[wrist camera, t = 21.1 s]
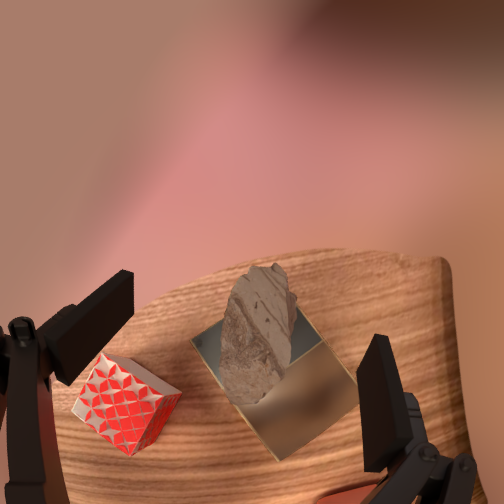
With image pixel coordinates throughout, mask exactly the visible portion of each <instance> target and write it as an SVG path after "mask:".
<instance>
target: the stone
mask: <svg viewBox="0 0 504 504" xmlns="http://www.w3.org/2000/svg"><path fill="white" fill-rule="evenodd" d="M287 280H288V277H287V274H286V273H285V272H284V270H283V269H282V268H281V267H280V266H279V265H278V264H277V263H274V264H273V265H272V266H271V267H258V266H251V267H250V268H249V272H248V274H244V275H242V276H240V278H239V279H238V281H237V282H236V285H235V286H234V287H233V289H232V291H231V294H230V296H229V299H228V304H227V309H226V311H225V314H224V320H223V325H222V332H221V356H220V360H219V373H220V375H221V380H222V384H223V387H224V390H225V393H226V396H227V398H228V399H229V401H230V403H231V404H232V405H233V404H234V405H245V404H257V403H258V402H259V400H260V399H263V398H264V397H265V395H266V393H269V392H270V391H271V389H272V388H273V387H274V385H275V384H276V383H279V382H280V381H281V380H282V379H283V378H284V376H285V374H286V368H287V367H288V365H289V363H290V358H291V338H290V337H291V334H292V332H293V329H294V322H295V320H296V319H297V312H296V300H297V296H296V295H295V294H294V293H291V292H290V291H289V289H288V284H287V283H288V281H287Z"/></svg>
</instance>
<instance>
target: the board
mask: <svg viewBox="0 0 504 504" xmlns="http://www.w3.org/2000/svg"><path fill="white" fill-rule="evenodd" d="M296 312H297V319H296V320H295V322H294V329H293V332H292V334H291V337H290V338H291V358H290V363H289V365H288V367H287V368H286V374H285V376H284V378H283V379H282V380H281V381H280V382H279V383H276V384H275V385H274V387H273V388H272V389H271V391H270V392H269V393H266V395H265V397H264V398H263V399H260V400H259V402H258V403H257V404H245V405H234V404H233V405H234V407H235V408H236V409H237V411H238V412H239V413H240V415H241V416H242V417H243V419H244V420H245V421H246V423H247V424H248V425H249V427H250V428H251V429H252V430H253V432H254V433H255V434H256V436H257V437H258V438H259V439H260V441H261V442H262V443H263V444H264V446H265V447H266V448H267V449H268V451H269V452H270V453H271V454H272V456H273V457H274V458H275V459H276V460H277V462H280V461H281V460H283V459H285V458H286V457H288V456H289V455H291V454H292V453H294V452H295V451H297V450H298V449H300V448H301V447H303V446H304V445H305V444H307V443H308V442H310V441H311V440H312V439H314V438H315V437H317V436H318V435H319V434H321V433H322V432H323V431H325V430H326V429H327V428H329V427H330V426H331V425H333V424H334V423H335V422H337V421H338V420H339V419H340V418H342V417H343V416H344V415H345V414H347V413H348V412H349V411H350V410H352V409H353V408H354V407H355V406H356V405H358V404H359V393H358V384H357V382H356V380H355V379H354V378H353V376H352V375H351V374H350V372H349V371H348V370H347V368H346V367H345V366H344V364H343V363H342V362H341V361H340V359H339V358H338V357H337V355H336V354H335V353H334V351H333V350H332V349H331V347H330V346H329V345H328V344H327V342H326V341H325V340H324V338H323V337H322V336H321V334H320V333H319V332H318V330H317V329H316V328H315V326H314V325H313V324H312V323H311V321H310V320H309V319H308V317H307V316H306V315H305V313H304V312H303V311H302V309H301V308H300V307H299V306H298V304H297V303H296ZM223 320H224V318H223V319H222V320H220V321H219V322H217V323H215V324H214V325H212V326H211V327H209V328H208V329H206V330H205V331H203V332H202V333H200V334H199V335H197V336H195V337H194V338H192V339H191V340H190V343H191V344H192V346H193V347H194V349H195V350H196V352H197V353H198V355H199V356H200V358H201V359H202V361H203V362H204V364H205V365H206V367H207V368H208V370H209V371H210V373H211V374H212V376H213V377H214V379H215V380H216V381H217V383H218V384H219V386H220V387H221V389H222V390H223V391H224V393H225V390H224V387H223V384H222V380H221V375H220V373H219V360H220V356H221V332H222V325H223ZM225 394H226V393H225Z"/></svg>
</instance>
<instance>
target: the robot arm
mask: <svg viewBox="0 0 504 504" xmlns="http://www.w3.org/2000/svg"><path fill="white" fill-rule="evenodd" d="M133 315H134V273H133V272H130V271H126V270H123V269H122V270H120V271H119V272H118V273H117V274H115V275H114V276H113V277H112V278H110V279H109V280H108V281H106V282H105V283H104V284H103V285H101V286H100V287H99V288H98V289H96V290H95V291H94V292H93V293H91V294H90V295H89V296H88V297H87V298H85V299H84V300H83V301H82V302H80V303H79V304H78V305H77V306H76V305H74V304H71V305H68V306H66V307H63V308H62V309H61V310H60V311H59V312H57V314H55V315H54V316H53V317H52V318H50V319H49V320H48V321H46V322H45V323H44V324H43V325H42V326H40V327H39V328H38V329H37V330H36V329H35V326H34V322H33V320H32V319H31V318H28V317H17V318H15V319H13V320H12V321H11V322H10V323H9V325H8V329H9V332H10V335H11V336H10V335H6V334H4V332H3V329H2V327H1V326H0V430H1V426H2V422H3V418H4V414H5V411H6V407H7V453H8V467H9V477H10V480H9V482H8V483H6V484H5V498H6V504H70V502H69V498H68V494H67V490H66V486H65V482H64V477H63V472H62V467H61V462H60V457H59V451H58V445H57V438H56V431H55V423H54V413H53V403H52V389H51V379H50V375H51V374H52V372H53V371H54V372H55V376H56V379H57V380H58V381H60V382H62V383H63V384H65V385H67V386H70V385H71V384H72V383H73V381H74V380H75V379H76V378H77V377H78V376H79V375H80V373H81V372H82V371H83V370H84V369H85V368H86V367H87V365H88V364H89V363H90V362H91V361H92V360H93V359H94V358H95V356H96V355H97V354H98V353H99V352H100V351H101V350H102V349H103V347H104V346H105V345H106V344H107V343H108V342H109V341H110V340H111V339H112V338H113V336H114V335H115V334H116V333H117V332H118V331H119V330H120V329H121V328H122V327H123V326H124V324H125V323H126V322H127V321H128V320H129V319H130V318H131V317H132V316H133ZM356 375H357V384H358V393H359V403H360V414H361V426H362V439H363V455H364V472H376V473H380V472H381V471H382V470H383V469H384V468H386V467H387V471H388V474H387V475H385V476H384V477H383V478H382V479H381V480H380V481H379V482H378V483H377V486H376V487H375V488H374V489H373V490H372V491H371V492H370V493H369V494H368V495H367V496H366V497H365V499H364V500H363V501H362V502H361V503H360V504H411V503H412V502H413V500H414V499H415V498H416V496H417V495H418V497H417V500H416V503H415V504H470V503H471V498H472V493H473V488H474V483H475V477H476V471H477V464H476V462H475V459H474V458H473V457H472V456H470V455H469V454H466V453H462V454H459V455H458V456H456V457H455V458H454V459H452V458H448V457H445V456H441V455H439V451H438V449H437V448H436V447H435V446H434V445H433V444H431V443H429V442H428V439H427V434H426V430H425V426H424V422H423V418H422V414H421V411H420V407H419V403H418V401H417V399H416V398H415V396H414V395H413V394H412V393H407V392H403V388H402V384H401V380H400V377H399V373H398V369H397V366H396V362H395V359H394V355H393V352H392V348H391V345H390V342H389V338H388V336H385V335H380V334H374V337H373V339H372V341H371V343H370V345H369V347H368V349H367V351H366V353H365V355H364V357H363V359H362V361H361V363H360V365H359V367H358V369H357V371H356Z"/></svg>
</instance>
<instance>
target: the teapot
mask: <svg viewBox="0 0 504 504" xmlns="http://www.w3.org/2000/svg"><path fill="white" fill-rule="evenodd" d="M376 486H377V484H374V485H369V486H365V487H361V488H357V489H353V490H349V491H345V492H341V493H338V494H334V495H330V496H327V497H323V498H321V499H319V500H318V502H317V503H316V504H360V503H361V502H362V501H363V500H364V499H365V497H366V496H367V495H368V494H369V493H370V492H371V491H372V490H373V489H374V488H375V487H376Z"/></svg>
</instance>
